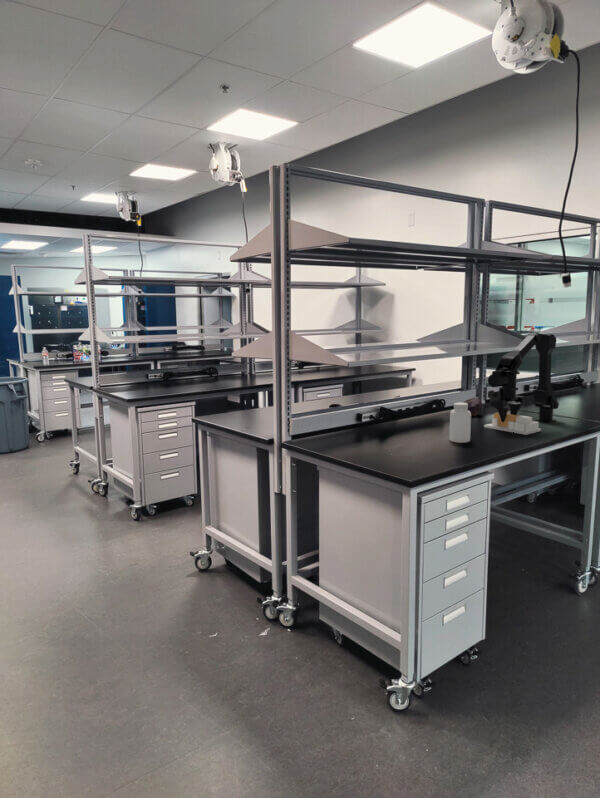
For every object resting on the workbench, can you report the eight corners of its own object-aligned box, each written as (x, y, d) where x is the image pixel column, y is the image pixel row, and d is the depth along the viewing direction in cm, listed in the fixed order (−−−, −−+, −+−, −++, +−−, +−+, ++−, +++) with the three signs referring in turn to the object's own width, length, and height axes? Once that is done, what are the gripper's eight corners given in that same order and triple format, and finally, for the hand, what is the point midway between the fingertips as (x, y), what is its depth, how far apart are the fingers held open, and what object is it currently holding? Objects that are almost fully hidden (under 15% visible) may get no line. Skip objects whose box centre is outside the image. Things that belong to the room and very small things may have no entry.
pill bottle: (455, 443, 208) (456, 405, 206) (445, 439, 216) (446, 402, 213) (474, 442, 210) (475, 404, 207) (463, 437, 217) (465, 401, 215)
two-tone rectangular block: (498, 423, 239) (499, 412, 238) (531, 428, 226) (532, 417, 226) (493, 424, 236) (493, 413, 236) (525, 430, 224) (526, 418, 223)
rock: (457, 418, 263) (476, 420, 256) (455, 401, 261) (475, 403, 254) (468, 411, 271) (487, 413, 264) (467, 395, 269) (486, 396, 262)
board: (498, 423, 243) (499, 415, 242) (540, 431, 227) (541, 421, 226) (484, 427, 236) (484, 418, 236) (526, 434, 220) (526, 425, 220)
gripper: (505, 381, 242) (503, 415, 245) (479, 385, 231) (478, 421, 234) (527, 383, 233) (526, 419, 236) (502, 388, 222) (501, 425, 225)
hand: (507, 421), depth 233 cm, fingers open, 7 cm apart
